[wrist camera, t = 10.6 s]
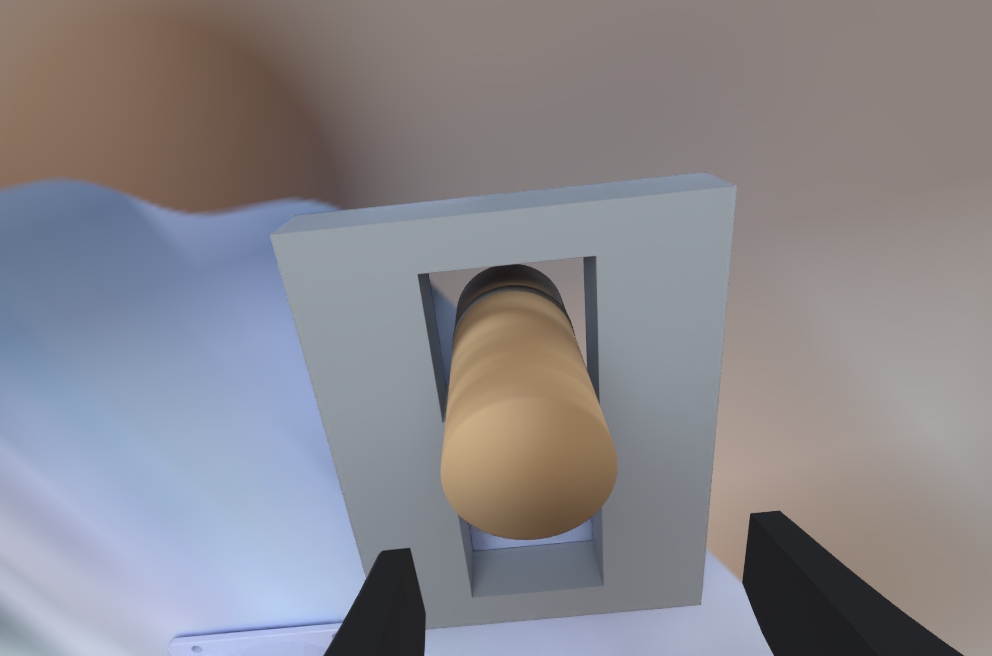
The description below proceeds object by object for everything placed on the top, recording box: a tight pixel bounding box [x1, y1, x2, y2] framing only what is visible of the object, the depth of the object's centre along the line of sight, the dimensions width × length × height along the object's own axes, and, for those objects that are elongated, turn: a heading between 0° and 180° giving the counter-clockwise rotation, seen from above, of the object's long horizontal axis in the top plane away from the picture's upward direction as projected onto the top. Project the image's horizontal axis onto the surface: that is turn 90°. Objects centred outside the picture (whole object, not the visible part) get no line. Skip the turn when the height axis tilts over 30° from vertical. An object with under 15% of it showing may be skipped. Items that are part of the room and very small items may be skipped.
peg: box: [440, 264, 618, 540], centre depth 16 cm, size 4×4×9 cm
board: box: [270, 172, 737, 630], centre depth 21 cm, size 14×18×2 cm
